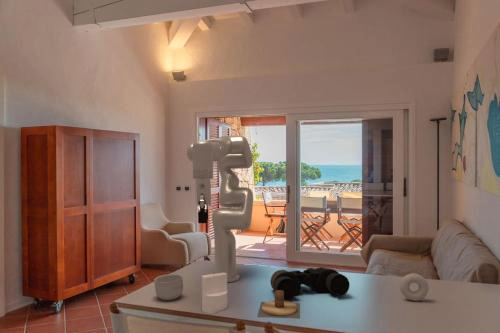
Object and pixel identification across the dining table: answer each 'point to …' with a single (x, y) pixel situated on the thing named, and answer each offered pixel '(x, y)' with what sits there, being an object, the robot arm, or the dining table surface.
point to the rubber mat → (296, 315)
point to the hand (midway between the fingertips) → (203, 221)
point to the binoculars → (309, 281)
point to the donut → (414, 294)
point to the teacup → (169, 286)
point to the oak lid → (279, 306)
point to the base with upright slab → (214, 292)
